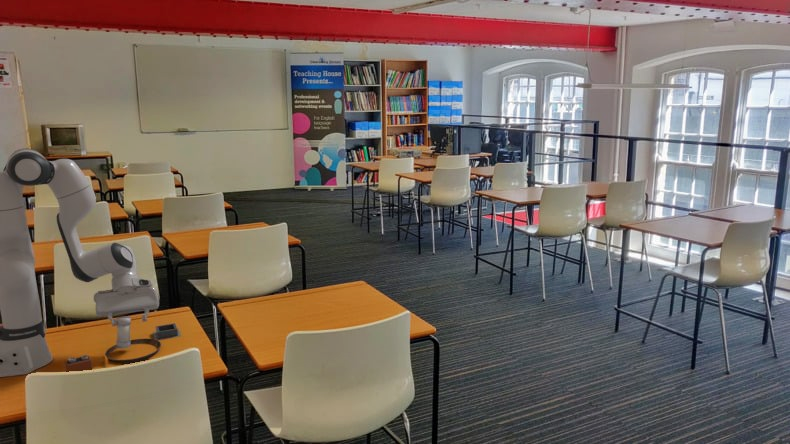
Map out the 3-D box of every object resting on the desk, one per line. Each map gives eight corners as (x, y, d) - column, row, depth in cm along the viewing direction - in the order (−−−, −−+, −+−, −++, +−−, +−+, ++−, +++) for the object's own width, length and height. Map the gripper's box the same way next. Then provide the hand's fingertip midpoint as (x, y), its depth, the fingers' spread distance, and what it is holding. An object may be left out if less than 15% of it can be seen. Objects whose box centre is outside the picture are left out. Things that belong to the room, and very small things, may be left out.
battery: (67, 388, 181) (64, 357, 179) (92, 382, 185) (88, 352, 183) (70, 393, 178) (66, 362, 176) (95, 387, 182) (91, 356, 180)
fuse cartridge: (116, 349, 202) (117, 320, 201) (116, 345, 206) (116, 316, 204) (130, 347, 204) (131, 319, 203) (129, 343, 208) (130, 316, 207)
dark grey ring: (100, 370, 194) (99, 361, 193) (112, 349, 211) (111, 340, 210) (158, 364, 198) (157, 356, 197) (165, 344, 215) (164, 336, 214)
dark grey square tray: (155, 343, 214) (154, 334, 213) (153, 335, 222) (152, 325, 221) (181, 339, 218) (180, 329, 217) (178, 330, 226) (177, 321, 225)
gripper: (92, 287, 204) (95, 323, 197) (156, 279, 213) (161, 314, 206) (93, 296, 208) (96, 331, 202) (156, 288, 217) (160, 322, 211)
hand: (129, 323), depth 204 cm, fingers open, 8 cm apart
